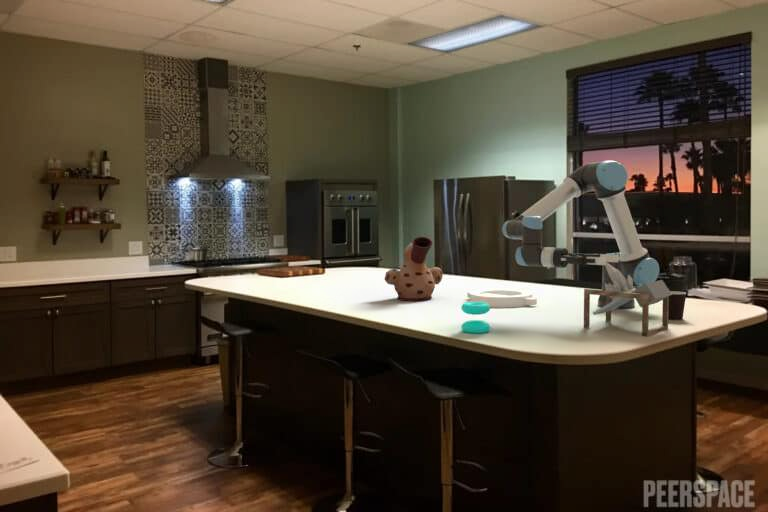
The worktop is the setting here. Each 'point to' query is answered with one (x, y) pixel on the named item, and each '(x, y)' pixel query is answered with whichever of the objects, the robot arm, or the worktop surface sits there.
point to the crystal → (618, 281)
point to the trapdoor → (654, 290)
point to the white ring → (502, 297)
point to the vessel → (415, 273)
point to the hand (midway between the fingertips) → (611, 259)
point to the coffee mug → (676, 305)
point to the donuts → (475, 325)
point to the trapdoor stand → (628, 295)
